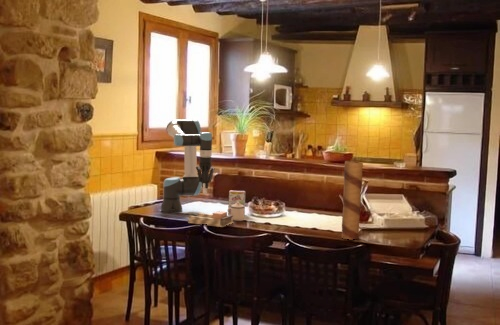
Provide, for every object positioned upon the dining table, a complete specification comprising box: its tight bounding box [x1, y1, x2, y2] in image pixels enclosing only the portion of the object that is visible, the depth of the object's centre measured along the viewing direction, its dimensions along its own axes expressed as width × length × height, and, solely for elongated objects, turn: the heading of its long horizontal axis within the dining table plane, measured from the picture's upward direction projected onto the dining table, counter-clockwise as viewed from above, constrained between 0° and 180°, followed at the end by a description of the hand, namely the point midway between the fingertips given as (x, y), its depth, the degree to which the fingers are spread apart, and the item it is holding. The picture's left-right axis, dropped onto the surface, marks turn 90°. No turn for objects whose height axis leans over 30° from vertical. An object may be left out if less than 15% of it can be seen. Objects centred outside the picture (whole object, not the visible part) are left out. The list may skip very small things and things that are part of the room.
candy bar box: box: [227, 189, 246, 216], centre depth 397 cm, size 11×5×16 cm, turn 84°
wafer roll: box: [341, 160, 364, 241], centre depth 331 cm, size 10×11×45 cm
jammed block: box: [212, 210, 228, 219], centre depth 363 cm, size 6×8×6 cm
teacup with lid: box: [227, 202, 245, 222], centre depth 381 cm, size 12×9×12 cm
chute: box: [187, 212, 234, 228], centre depth 366 cm, size 25×14×5 cm, turn 64°
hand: (204, 193), depth 368 cm, fingers closed
